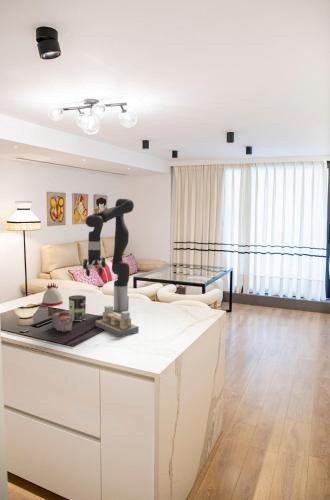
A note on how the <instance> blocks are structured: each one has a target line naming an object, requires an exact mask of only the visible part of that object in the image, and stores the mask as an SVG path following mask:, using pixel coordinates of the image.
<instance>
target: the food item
mask: <svg viewBox="0 0 330 500" xmlns="http://www.w3.org/2000/svg"><path fill="white" fill-rule="evenodd" d="M51 327H52V328H53V329H55V330H57V332H61V331H62V332H61V333H66V332H65V331H68V332H71V330H72V329H73V321H72V318H71V317H69V315H68V314H67V313H66V312H63V311H61V312H55V313H53V314H51Z"/></svg>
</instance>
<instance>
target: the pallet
mask: <svg viewBox="0 0 330 500" xmlns="http://www.w3.org/2000/svg"><path fill="white" fill-rule="evenodd" d="M102 319H103V321H105V322H107V321H111V324H112V325H118V324H120V328H122V329H126V328H130V327H131V324H132V318H131V317H130V319H126V320H124V319H121V313H118V312H116V311H113V312H112V313H106V312H105V311H103V312H102Z"/></svg>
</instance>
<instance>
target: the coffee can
mask: <svg viewBox="0 0 330 500" xmlns="http://www.w3.org/2000/svg"><path fill="white" fill-rule="evenodd" d="M86 299H87V297H86V295H79V294H77V295H76V294H75V295H71V296H69V297H68V316H69V317H71V318H72V322H73V321H80V322H83V321H82V320H84V321H86V319H87V317H86V315H87V314H86V313H87V312H86V311H87V309H86V308H87V307H86V306H87V304H86V303H87V302H86Z"/></svg>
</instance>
